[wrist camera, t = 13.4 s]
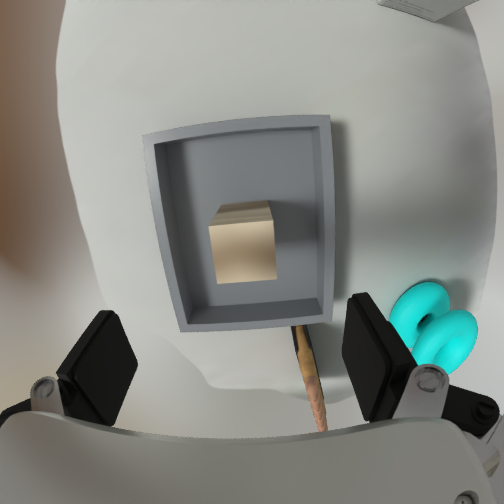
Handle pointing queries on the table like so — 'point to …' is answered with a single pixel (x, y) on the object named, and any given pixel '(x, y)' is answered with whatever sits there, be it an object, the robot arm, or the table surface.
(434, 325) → the donuts
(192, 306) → the tray
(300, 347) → the ammunition clip
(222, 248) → the birch block
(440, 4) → the supplement box
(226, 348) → the table surface
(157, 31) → the table surface
